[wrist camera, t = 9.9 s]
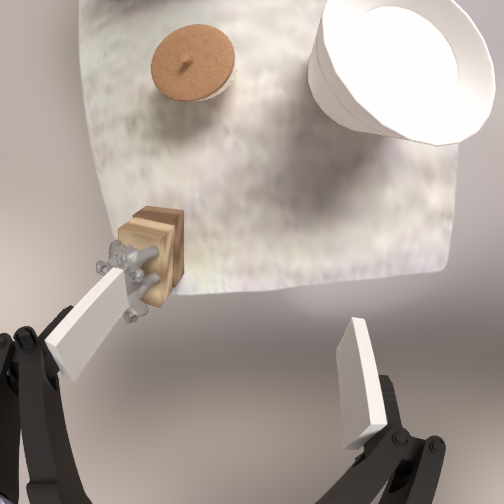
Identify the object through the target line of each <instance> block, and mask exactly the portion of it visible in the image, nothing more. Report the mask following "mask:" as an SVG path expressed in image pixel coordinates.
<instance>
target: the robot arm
mask: <svg viewBox="0 0 504 504" xmlns="http://www.w3.org/2000/svg"><path fill="white" fill-rule="evenodd" d="M128 307H129V304H128V297H127V291H126V283H125V276H124V270H122V269H118V268H114V267H113V268H112V269H111V270H110V271H109V272H108V273H107V274H106V275H105V276H104V277H103V278H102V279H101V280H100V281H99V282H98V283H97V284H96V285H95V286H94V287H93V288H92V289H91V290H90V291H89V292H88V293H87V294H86V295H85V296H84V297H83V298H82V299H81V300H80V301H79V303H78V304H77V305H76V306H75V307H73V306H71V305H70V306H69V307H67V308H65V309H63V310H62V311H61V312H60V313H59V314H58V315H57V317H56V318H55V319H54V320H53V322H51V323H50V324H49V325H48V326H47V328H46V329H45V330H44V331H43V332H42V333H41V334H40V335H39V336H38V337H37V335H36V333H35V331H34V329H33V328H32V327H29V326H24V327H21V328H19V329H18V330H17V331H16V332H15V334H14V337H13V338H14V340H15V341H13V340H12V339H11V336H10V335H8V334H7V333H1V334H0V504H18V500H19V445H20V432H21V430H22V439H23V445H24V452H25V457H26V463H27V467H28V472H29V477H30V482H29V483H28V484H27V486H26V489H27V495H28V498H29V501H30V504H92V502H91V501H90V499H89V498H88V497H87V496H86V494H85V492H84V489H83V486H82V483H81V480H80V477H79V474H78V471H77V468H76V465H75V461H74V458H73V454H72V450H71V446H70V442H69V438H68V434H67V430H66V424H65V419H64V413H63V408H62V401H61V396H60V387H59V379H58V375H57V373H58V372H59V370H60V371H61V373H62V375H63V377H65V378H67V379H69V380H70V381H72V382H75V381H76V379H77V378H78V376H79V375H80V373H81V372H82V370H83V369H84V367H85V366H86V364H87V363H88V362H89V360H90V359H91V357H92V356H93V354H94V353H95V352H96V350H97V349H98V347H99V346H100V345H101V343H102V342H103V340H104V339H105V338H106V336H107V335H108V333H109V332H110V331H111V329H112V328H113V327H114V325H115V324H116V323H117V321H118V320H119V319H120V317H121V316H122V315H123V313H124V312H125V311H126V309H127V308H128ZM336 358H337V367H338V377H339V388H340V402H341V416H342V436H343V450H358V449H359V448H360V447H362V446H363V445H364V452H363V453H362V454H360V455H359V456H358V457H356V458H355V460H356V461H355V462H354V463H353V464H352V466H351V467H350V468H349V469H348V470H347V471H346V473H345V474H344V475H343V476H342V477H341V478H340V479H339V480H338V481H337V482H336V483H335V484H334V486H332V487H331V488H330V489H329V491H328V492H327V493H326V494H325V495H323V497H322V498H321V499H319V500H318V501H317V502H316V503H315V504H370V503H371V502H372V501H373V499H374V498H375V497H376V495H377V494H378V493H379V491H380V490H381V489H382V487H383V486H384V485H385V483H386V481H388V483H387V485H386V488H385V490H384V492H383V495H382V497H381V499H380V501H379V503H378V504H432V501H433V498H434V495H435V491H436V488H437V484H438V481H439V477H440V473H441V469H442V465H443V459H444V455H445V450H446V445H445V443H444V441H443V440H442V438H440V437H439V436H431V437H429V438H428V439H426V440H423V439H419V438H415V437H412V436H410V434H409V432H408V431H407V430H406V429H404V428H402V425H401V419H400V415H399V410H398V405H397V401H396V396H395V394H394V393H395V391H394V387H393V383H392V382H391V380H390V379H389V377H388V376H387V375H378V372H377V368H376V363H375V359H374V355H373V351H372V346H371V342H370V338H369V335H368V331H367V327H366V323H365V319H360V318H354V317H352V319H351V321H350V323H349V325H348V327H347V329H346V331H345V334H344V335H343V337H342V339H341V341H340V344H339V345H338V348H337V350H336ZM7 372H8V374H7ZM388 479H389V480H388Z"/></svg>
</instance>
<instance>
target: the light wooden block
mask: <svg viewBox="0 0 504 504" xmlns="http://www.w3.org/2000/svg"><path fill="white" fill-rule="evenodd" d="M174 227H175V226H174V225H169V224H165V223H160V222H156V221H151V220H146V219H142V218H137V217H134V218H133V219H131V220H130V221H128V222H127V223H126V224H124V225H123V226H121V227H120V228H119V229H118V240H120V241H121V245H122V244H125V245H126V247H127V246H128V245H132V246H133V247H134V248H135V249H138V250H142V249H147V248H150V247H151V246H157V247H158V249H159V255H158V256H157V257H155V258H151V259H149V260H147V261H145V262H144V264H143V265H142V266H141V269H142V270H143V271H144V275H148V274H150V273H152V272H156V273H158V274H159V276H160V280H159V282H157V283H155V284H153V285H152V286H151V287H150V288H149V290H148V291H147V292H146V293H145V294H144V296H143V297H142V298H141V299H140V300H141V301H143V302H144V303H146V304H149V305H153V306H156V307H159V308H161V307H162V305H163V304H164V302H165V300H166V299H167V297H168V296H169V294H170V293H171V291H172V271H173V245H174Z"/></svg>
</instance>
